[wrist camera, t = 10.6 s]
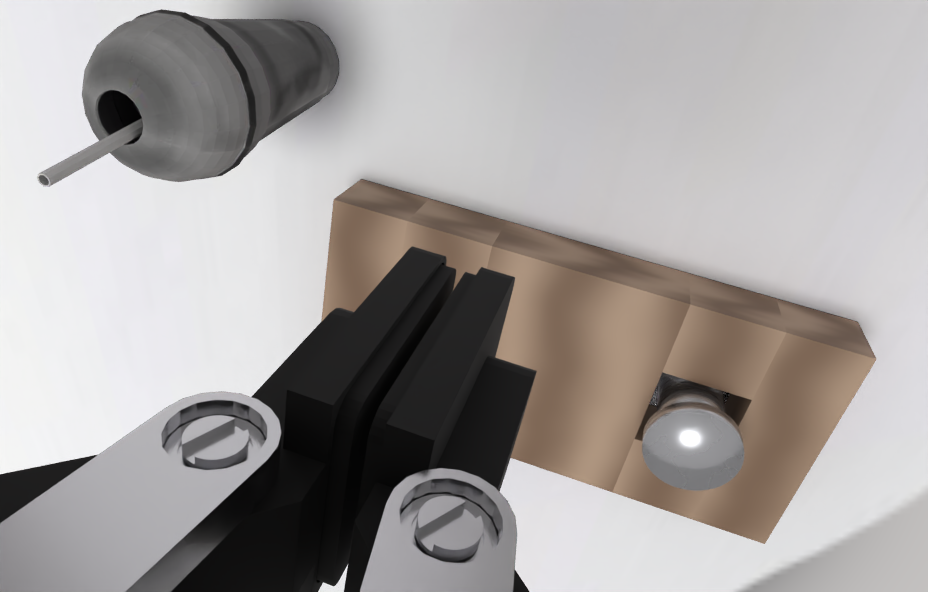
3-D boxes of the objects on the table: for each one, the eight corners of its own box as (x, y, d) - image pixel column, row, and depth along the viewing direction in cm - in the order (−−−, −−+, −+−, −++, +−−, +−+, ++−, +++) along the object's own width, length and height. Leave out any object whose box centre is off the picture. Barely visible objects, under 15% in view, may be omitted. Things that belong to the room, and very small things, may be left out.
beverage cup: (328, -27, 37) (31, -8, 20) (380, 101, 40) (157, 218, 22) (227, 22, 40) (-110, 77, 23) (282, 139, 42) (15, 269, 25)
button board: (857, 321, 38) (876, 359, 34) (757, 498, 45) (764, 543, 41) (361, 179, 42) (333, 199, 39) (339, 360, 49) (314, 391, 46)
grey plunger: (748, 364, 40) (760, 431, 35) (715, 430, 43) (722, 502, 37) (661, 338, 41) (660, 400, 35) (635, 404, 44) (629, 472, 38)
